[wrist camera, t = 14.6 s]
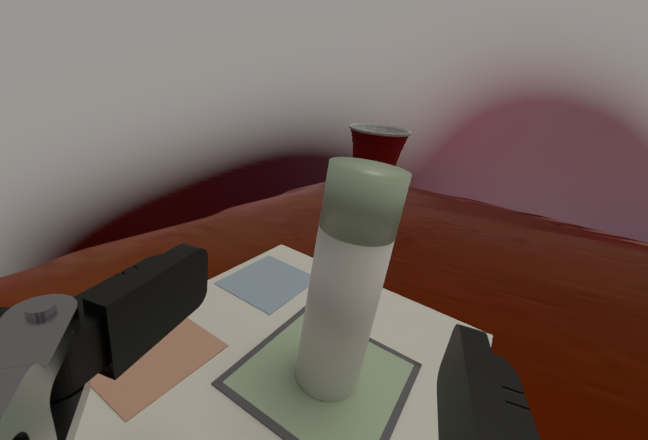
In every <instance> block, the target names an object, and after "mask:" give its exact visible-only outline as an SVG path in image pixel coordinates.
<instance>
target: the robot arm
mask: <svg viewBox="0 0 648 440" xmlns="http://www.w3.org/2000/svg"><path fill="white" fill-rule="evenodd" d="M207 279H208V254H207V251H206V250H205V249H202V248H199V247H195V246H192V245H189V244H185V243H183V244H180V245H178V246H176V247H174V248H173V249H171V250H169V251H167V252H165V253H163V254H159V255H156V256H152V257H149V258H146V259H144V260H142V261H140V262H139V263H137V264H135V265H133V267H129V268H127V269H125V270H124V271H122V272H121V274H119V273H118V274H116V275H114V276H112V277H110V278H109V279H107V280H105V281H103V282H101V283H99V284H97V285H95V286H94V287H92V288H90V289H88V290H86V291H84V292H82V293H80V294H79V295H77V296H75V297H72V296H69V295H64V294H49V295H42V296H38V297H34V298H31V299H28V300H25V301H23V302H20V303H18V304H16V305H14V306H13V307H11V308H7V307H0V440H74V438H75V435H76V432H77V429H78V426H79V423H80V420H81V417H82V414H83V411H84V407H85V404H86V401H87V398H88V395H89V392H90V388H91V383H90V380H91V379H92V378H93V377H94V376H96V375H97V374H98V373H99V374H101V375H103V376H106V377H108V378H110V379H113V380H116V379H117V378H118V377H120V376H121V375H122V374H123V373H124V372H125V371H126V370H128V369H129V368H130V367H131V366H132V365H133V364H134V363H136V362H137V361H138V360H139V359H140V358H141V357H142V356H144V355H145V354H146V353H147V352H148V351H149V350H151V349H152V348H153V347H154V346H155V345H156V344H157V343H159V342H160V341H161V340H162V339H163V338H164V337H165V336H167V335H168V334H169V333H170V332H171V331H172V330H173V329H175V328H176V327H177V326H178V325H179V324H180V323H181V322H183V321H184V320H185V319H186V318H187V317H188V316H189V315H191V314H192V313H193V312H194V311H195V310H196V309H197V308H199V307H200V305H201V304H202V303H203V301H204V299H205V297H206V294H207ZM437 412H438V437H439V440H540V437H539V434H538V431H537V428H536V425H535V423H534V420H533V417H532V414H531V412H529V405H528V403H527V400H526V397H525V396H524V391H523V388H522V385H521V382H520V380H519V377H518V374H517V373H516V372H515V371H514V369H513V368H512V367H511V366H510V364H509V363H508V362H507V360H506V359H505V358H504V357H501V356H498V355H495V354H492V350H491V347H490V343H489V339H488V336H487V333H486V332H484V331H480V330H477V329H473V328H470V327H466V326H463V325H460V324H456V325H455V327H454V329H453V331H452V334H451V337H450V340H449V342H448V345H447V348H446V351H445V353H444V356H443V359H442V362H441V364H440V368H439V372H438V377H437Z"/></svg>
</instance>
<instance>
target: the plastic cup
mask: <svg viewBox="0 0 648 440" xmlns="http://www.w3.org/2000/svg"><path fill="white" fill-rule="evenodd" d="M349 127H350V129H351V131H352V142H353V158H361V159H367V160H373V161H378V162H382V163H386V164H390V165H393V166H395V165H396V163H397V160H398V158H399V155H400V152H401V150H402V148H403V146H404V144H405V142H406V140H407V138H408V136H410V135H411V131H409V130H407V129H404V128H400V127H395V126H389V125H381V124H372V123H354V124H350V126H349Z"/></svg>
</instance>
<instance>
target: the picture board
mask: <svg viewBox="0 0 648 440" xmlns="http://www.w3.org/2000/svg"><path fill="white" fill-rule="evenodd" d="M312 264H313V258H312V257H309V256H307V255H305V254H302V253H300V252H298V251H295V250H293V249H291V248H288V247H286V246H284V245H279V246H277V247H275V248H273V249H271V250H269V251H267V252H265V253H263V254H261V255H259V256H257V257H255V258H253V259H251V260H249V261H247V262H245V263H243V264H240V265H238V266H236V267H234V268H232V269H230V270H228V271H226V272H224V273H222V274H220V275H218V276H216V277H214V278H212V279H210V280H208V281H207V294H206V297H205V299H204V301H203V303H202V304H201V305H200V307H199V308H197V309H196V310H195V311H194V312H193V313H192V314H191V315H189V316H188V317H187V318H186V319H185V320H184V321H183V322H181V323H180V324H179V325H178V326H177V327H176V328H175V329H173V330H172V331H171V332H170V333H169V334H168V335H167V336H165V337H164V338H163V339H162V340H161V341H160V342H159V343H157V344H156V345H155V346H154V347H153V348H152V349H151V350H149V351H148V352H147V353H146V354H145V355H144V356H142V357H141V358H140V359H139V360H138V361H137V362H136V363H134V364H133V365H132V366H131V367H130V368H129V369H128V370H126V371H125V372H124V373H123V374H122V375H121V376H120V377H118V378H117V379H116V380H113V379H110V378H108V377H106V376H103V375H101V374H99V373H98V374H97V375H96V376H94V377H93V378H92V379H91V380H90V383H91V388H90V392H89V395H88V398H87V401H86V404H85V407H84V411H83V414H82V417H81V420H80V423H79V426H78V429H77V432H76V435H75V438H74V440H439V437H438V412H437V377H438V372H439V368H440V364H441V362H442V359H443V356H444V353H445V351H446V348H447V345H448V342H449V340H450V337H451V334H452V331H453V329H454V327H455V325H456V324H460V325H463V326H466V327H470V328H473V329H477V328H475V327H472V326H470V325H468V324H465V323H463V322H461V321H458V320H456V319H454V318H451V317H449V316H447V315H444V314H442V313H440V312H437V311H435V310H433V309H430V308H428V307H426V306H423V305H421V304H419V303H416V302H414V301H412V300H409V299H407V298H405V297H402V296H400V295H398V294H395V293H393V292H391V291H388V290H386V289H384V288H382V291H381V295H380V299H379V303H378V307H377V311H376V315H375V318H374V322H373V326H372V330H371V334H370V338H369V341H368V345H367V349H366V353H365V357H364V361H363V365H362V368H361V372H360V376H359V380H358V384H357V387H356V389H355V391H354V392H353V394H352V395H350V396H349V397H348V398H346V399H344V400H341V401H337V402H325V401H321V400H318V399H315V398H313V397H311V396H310V395H308V394H307V393H306V392H304V391H303V390H302V388H301V387H300V386H299V384H298V382H297V380H296V376H295V368H296V362H297V355H298V349H299V343H300V337H301V331H302V325H303V319H304V313H305V306H306V300H307V294H308V288H309V282H310V276H311V270H312ZM477 330H479V329H477ZM480 331H482V330H480ZM487 336H488V339H489V343H490V347H491V343H492V337H493V335H491V334H489V333H487Z"/></svg>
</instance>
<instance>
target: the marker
mask: <svg viewBox="0 0 648 440" xmlns="http://www.w3.org/2000/svg"><path fill="white" fill-rule="evenodd" d="M410 179H411V173H410V172H408V171H406V170H404V169H402V168H399V167H396V166H393V165H390V164H386V163H382V162H378V161H373V160H367V159H361V158H352V157H334V158H331V159H330V160H329V166H328V172H327V178H326V184H325V190H324V196H323V203H322V209H321V215H320V221H319V227H318V233H317V239H316V245H315V251H314V258H313V264H312V270H311V276H310V282H309V288H308V294H307V300H306V306H305V313H304V319H303V325H302V331H301V337H300V343H299V349H298V355H297V362H296V368H295V376H296V380H297V382H298V384H299V386H300V387H301V388H302V390H303V391H304V392H306V393H307V394H308V395H310V396H311V397H313V398H315V399H318V400H321V401H325V402H337V401H341V400H344V399H346V398H348V397H349V396H350V395H352V394H353V392H354V391H355V389H356V387H357V384H358V380H359V376H360V372H361V368H362V365H363V361H364V357H365V353H366V349H367V345H368V341H369V338H370V334H371V330H372V326H373V322H374V318H375V315H376V311H377V307H378V303H379V299H380V295H381V291H382V288H383V284H384V280H385V276H386V272H387V268H388V264H389V261H390V257H391V253H392V249H393V245H394V241H395V238H396V234H397V230H398V226H399V222H400V218H401V214H402V211H403V207H404V203H405V199H406V195H407V191H408V188H409V184H410Z"/></svg>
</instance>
